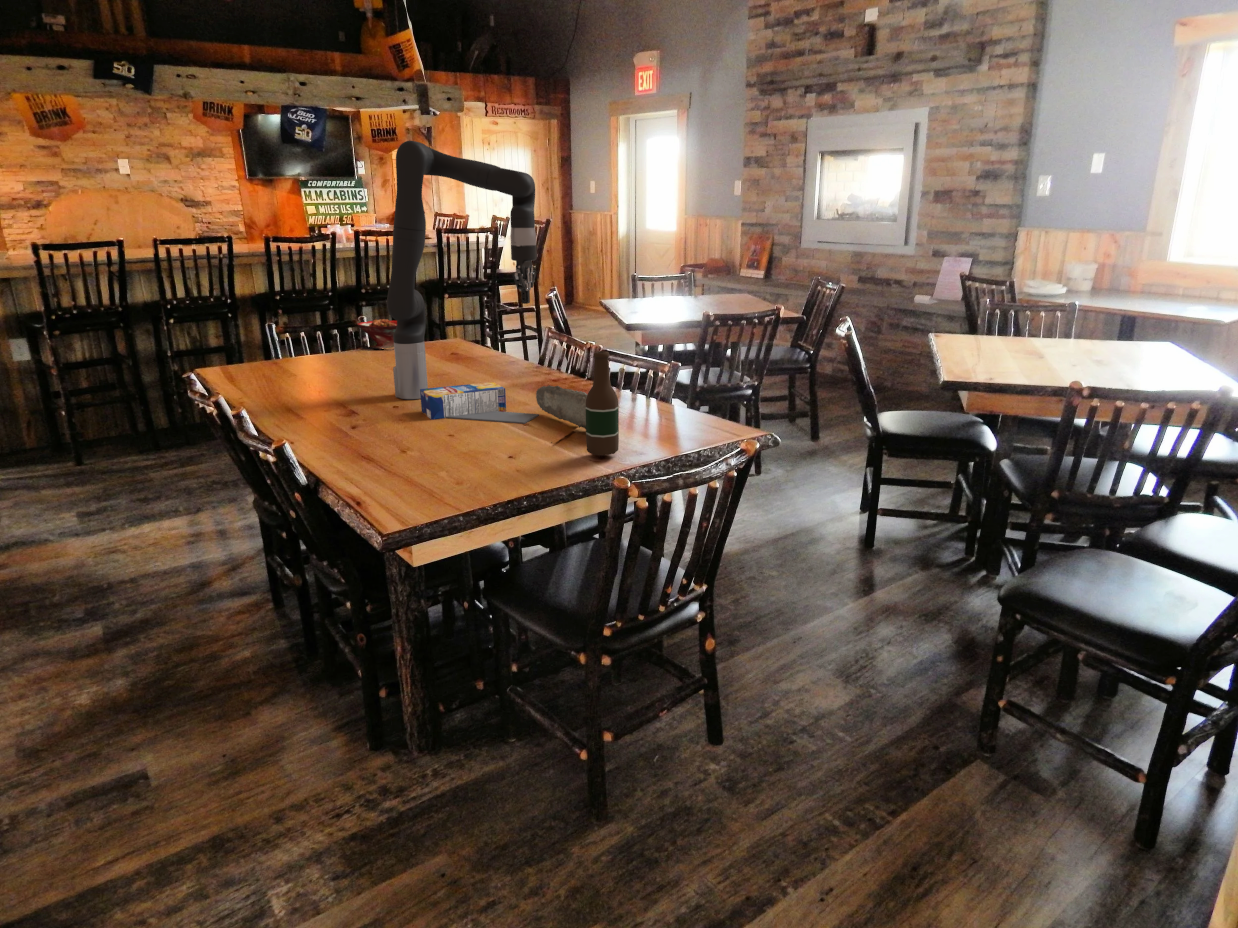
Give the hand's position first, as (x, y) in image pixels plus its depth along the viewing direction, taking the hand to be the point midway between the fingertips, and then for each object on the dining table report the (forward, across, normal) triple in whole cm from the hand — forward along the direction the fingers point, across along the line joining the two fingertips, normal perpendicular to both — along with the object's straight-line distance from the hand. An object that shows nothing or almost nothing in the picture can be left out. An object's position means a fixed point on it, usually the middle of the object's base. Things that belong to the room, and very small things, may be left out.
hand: (525, 303), depth 248 cm
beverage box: (+26, +15, -3) cm, 30 cm away
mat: (+29, +26, 0) cm, 39 cm away
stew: (+29, -69, -92) cm, 119 cm away
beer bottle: (+29, +51, +41) cm, 72 cm away
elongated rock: (+29, +28, +25) cm, 48 cm away
